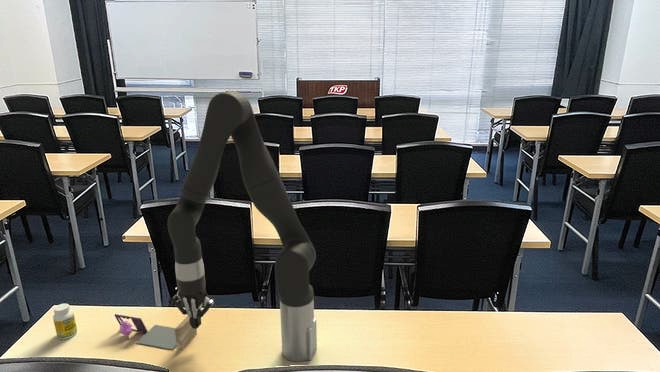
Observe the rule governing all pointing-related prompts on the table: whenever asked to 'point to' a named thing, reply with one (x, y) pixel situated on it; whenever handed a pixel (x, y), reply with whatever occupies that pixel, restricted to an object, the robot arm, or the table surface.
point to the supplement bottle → (64, 321)
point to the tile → (184, 334)
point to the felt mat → (159, 337)
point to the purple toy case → (126, 326)
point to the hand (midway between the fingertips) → (195, 326)
